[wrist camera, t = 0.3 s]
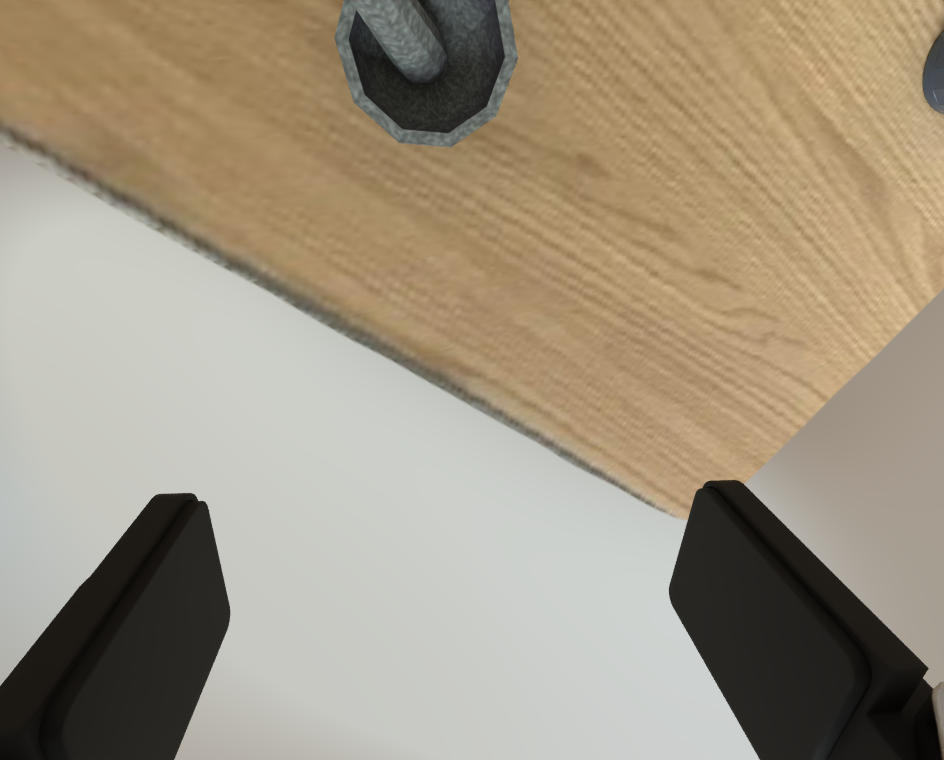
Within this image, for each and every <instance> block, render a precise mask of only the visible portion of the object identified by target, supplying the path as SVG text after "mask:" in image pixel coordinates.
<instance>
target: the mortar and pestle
mask: <svg viewBox="0 0 944 760" xmlns="http://www.w3.org/2000/svg"><path fill="white" fill-rule="evenodd" d="M335 41H336V44H337V48H338V51H339V54H340V58H341V61H342V64H343V68H344V71H345V74H346V78H347V81H348V84H349V88H350V91H351V94H352V98H353V101H354V103H355V104H356V105H357V106H359V107H360V108H361V109H362V110H363V111H364V112H365V113H366V114H367V115H369V116H370V117H371V118H372V119H373V120H374V121H375V122H376V123H378V124H379V125H380V126H381V127H382V128H383V129H384V130H385V131H386V132H388V133H389V134H390V135H391V136H392V137H393V138H394V139H395V140H397V141H398V142H399V143H406V144H417V145H429V146H440V147H452V146H453V145H455V144H456V143H458V142H459V141H460V140H462V139H463V138H465V137H466V136H468V135H469V134H471V133H472V132H474V131H475V130H477V129H478V128H479V127H481V126H482V125H484V124H485V123H487V122H488V121H490V120H491V119H493V118H494V117H495V116H496V115H497V112H498V110H499V107H500V104H501V102H502V99H503V96H504V94H505V91H506V89H507V86H508V83H509V81H510V78H511V75H512V73H513V70H514V67H515V65H516V62H517V60H518V56H517V50H516V44H515V38H514V32H513V26H512V20H511V14H510V8H509V2H508V0H344V2H343V6H342V10H341V14H340V18H339V22H338V26H337V30H336V34H335Z"/></svg>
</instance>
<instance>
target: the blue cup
mask: <svg viewBox="0 0 944 760" xmlns="http://www.w3.org/2000/svg"><path fill="white" fill-rule="evenodd" d="M923 90H924V95H925V98H926V100H927V102H928V104H929V105H930V106H931V107H932V108H933V109H934V110H935V111H937V112H939V113H941V114H944V31H943V32H942V34H941V35H940V36H939V38H938V39H937V41H936V42H935V44H934V45H933V47H932V49H931V51H930V54H929V56H928V58H927V61H926V65H925V69H924V74H923Z"/></svg>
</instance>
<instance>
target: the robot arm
mask: <svg viewBox="0 0 944 760" xmlns="http://www.w3.org/2000/svg"><path fill="white" fill-rule="evenodd" d="M669 595H670V600H671V604H672V606H673V608H674V610H675V611H676V613H677V615H678V616H679V618H680V620H681V622H682V624H683V625H684V627H685V629H686V631H687V632H688V634H689V636H690V637H691V639H692V641H693V643H694V645H695V646H696V648H697V650H698V652H699V653H700V655H701V657H702V659H703V660H704V662H705V664H706V666H707V667H708V669H709V671H710V673H711V675H712V676H713V678H714V680H715V681H716V683H717V685H718V687H719V689H720V690H721V692H722V694H723V696H724V697H725V699H726V701H727V702H728V704H729V706H730V708H731V710H732V711H733V713H734V715H735V717H736V718H737V720H738V722H739V724H740V725H741V727H742V729H743V731H744V732H745V734H746V736H747V737H748V739H749V741H750V743H751V745H752V746H753V748H754V750H755V752H756V753H757V755H758V757H759V759H760V760H944V682H940V683H939V684H938V685H937V686H936V687H935V688H934V689H933V688H932V687H930V685H929V684H928V683H927V682H926V681H925V680H924V679H923V677H924V675H925V673H926V672H927V670H928V667H927V666H926V665H925V664H924V663H923V662H922V661H921V660H920V659H919V658H918V657H917V656H916V655H915V654H914V653H913V652H912V651H911V650H910V649H909V648H908V647H907V646H905V645H904V643H903V642H902V641H900V640H899V638H898V637H897V636H896V635H895V634H894V633H892V631H891V630H890V629H888V627H887V626H886V625H885V624H884V623H882V621H881V620H879V619H878V618H877V617H876V615H875V614H873V613H872V612H871V611H870V610H869V609H868V608H867V607H866V606H865V605H864V604H863V603H862V602H861V601H860V600H859V599H858V598H857V597H856V596H855V595H854V594H853V593H852V592H851V591H850V590H849V589H848V588H847V587H846V586H845V585H844V584H843V583H842V582H841V581H840V580H839V579H838V578H837V577H836V576H835V575H834V574H833V573H832V572H831V571H830V570H829V569H828V568H827V567H826V566H825V565H824V564H823V563H822V562H821V561H820V560H819V559H818V558H817V557H816V556H815V555H814V554H813V553H812V552H811V551H810V550H809V549H808V548H807V547H806V546H805V545H804V544H803V543H802V542H801V541H800V540H799V539H798V538H797V537H796V536H795V535H794V534H793V533H792V532H791V531H790V530H789V529H788V528H787V527H786V526H785V525H784V524H783V523H782V522H781V521H780V520H779V519H778V518H777V517H776V516H775V515H774V514H773V513H772V512H771V511H770V510H769V509H768V508H767V507H766V506H765V505H764V504H763V503H762V502H761V501H760V500H759V499H758V498H757V497H756V496H755V495H754V494H753V493H752V492H751V491H750V490H749V489H748V488H747V487H746V486H745V485H744V484H743V483H741V482H740V481H737V480H721V481H708V482H706V483H705V484H704V486H703V488H701V489H698V490H697V492H696V494H695V497H694V501H693V504H692V508H691V511H690V515H689V518H688V522H687V525H686V529H685V532H684V536H683V540H682V543H681V547H680V550H679V554H678V557H677V561H676V565H675V568H674V572H673V575H672V579H671V582H670V586H669ZM229 621H230V606H229V601H228V596H227V592H226V587H225V583H224V578H223V574H222V569H221V564H220V560H219V556H218V551H217V546H216V542H215V537H214V532H213V528H212V523H211V519H210V514H209V510H208V506H207V504H206V503H205V502H204V501H198V499H197V497H196V496H195V495H194V494H192V493H178V494H158V495H155V496H154V497H153V498H152V499H151V500H150V502H149V503H148V504H147V505H146V507H145V508H144V509H143V510H142V512H141V513H140V514H139V516H138V517H137V518H136V519H135V521H134V522H133V523H132V524H131V526H130V527H129V528H128V529H127V531H126V532H125V533H124V534H123V536H122V537H121V538H120V540H119V541H118V542H117V543H116V545H115V546H114V547H113V548H112V550H111V551H110V552H109V553H108V555H107V556H106V557H105V558H104V560H103V561H102V562H101V564H100V565H99V566H98V567H97V569H96V570H95V571H94V572H93V574H92V575H91V576H90V577H89V578H88V579H87V580H86V581H85V582H84V583H83V584H82V585H81V586H80V587H79V588H78V589H77V591H76V592H75V593H74V595H73V596H72V597H71V598H70V600H69V601H68V602H67V603H66V604H65V606H64V607H63V608H62V609H61V611H60V612H59V613H58V614H57V616H56V617H55V618H54V620H53V621H52V622H51V623H50V624H49V626H48V627H47V628H46V629H45V631H44V632H43V633H42V635H41V636H40V637H39V638H38V640H37V641H36V642H35V644H34V645H33V646H32V647H31V648H30V650H29V651H28V652H27V653H26V655H25V656H24V657H23V658H22V660H21V661H20V662H19V663H18V665H17V666H16V667H15V668H14V670H13V671H12V672H11V674H10V675H9V676H8V677H7V678H6V680H5V681H4V682H3V683H2V685H1V686H0V760H174V759H175V756H176V754H177V751H178V749H179V746H180V744H181V741H182V739H183V737H184V734H185V732H186V729H187V727H188V724H189V722H190V719H191V717H192V715H193V712H194V710H195V707H196V705H197V702H198V700H199V697H200V695H201V693H202V690H203V688H204V685H205V683H206V680H207V678H208V676H209V673H210V671H211V668H212V666H213V663H214V661H215V658H216V656H217V654H218V651H219V649H220V646H221V644H222V641H223V638H224V636H225V634H226V631H227V629H228V625H229Z"/></svg>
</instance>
